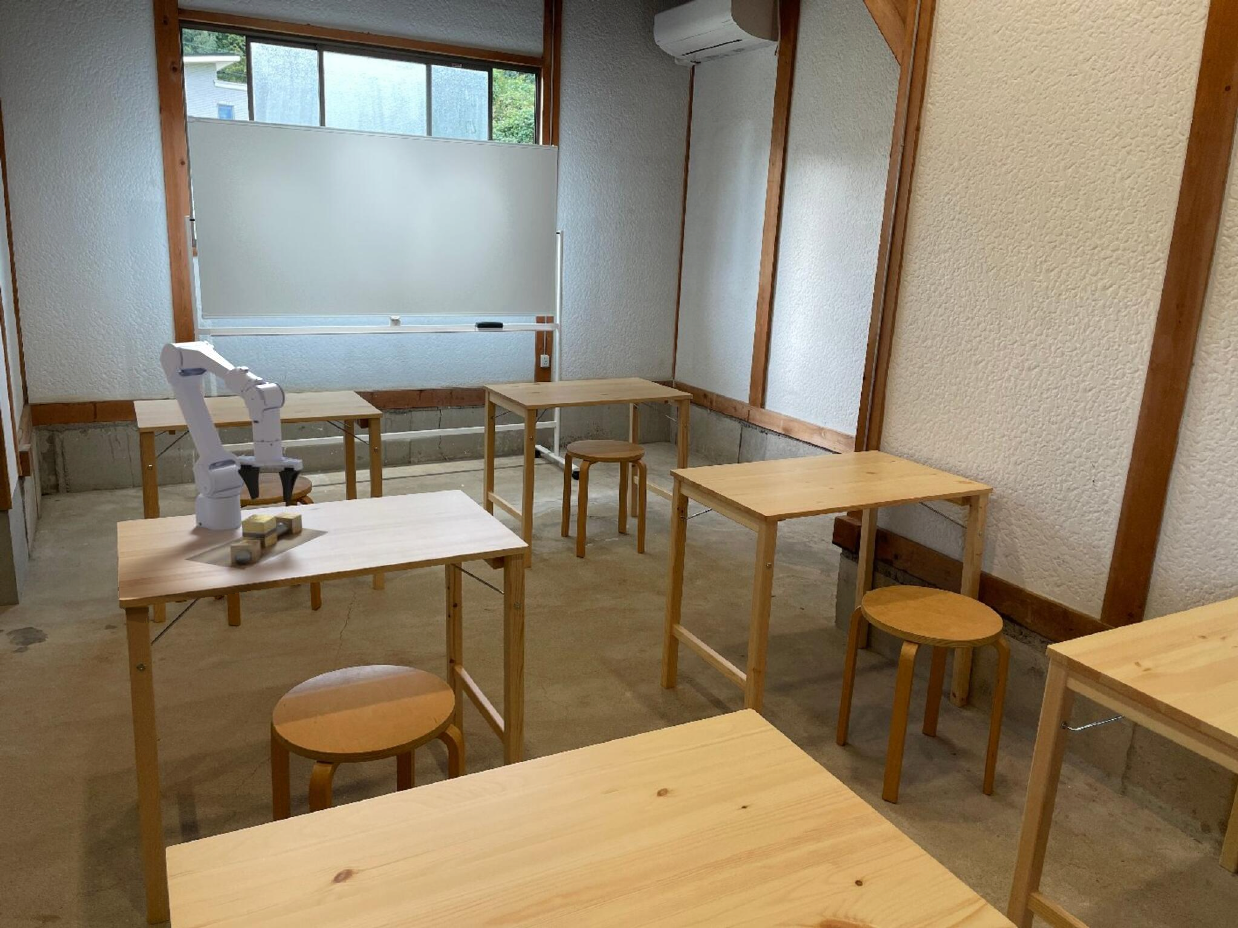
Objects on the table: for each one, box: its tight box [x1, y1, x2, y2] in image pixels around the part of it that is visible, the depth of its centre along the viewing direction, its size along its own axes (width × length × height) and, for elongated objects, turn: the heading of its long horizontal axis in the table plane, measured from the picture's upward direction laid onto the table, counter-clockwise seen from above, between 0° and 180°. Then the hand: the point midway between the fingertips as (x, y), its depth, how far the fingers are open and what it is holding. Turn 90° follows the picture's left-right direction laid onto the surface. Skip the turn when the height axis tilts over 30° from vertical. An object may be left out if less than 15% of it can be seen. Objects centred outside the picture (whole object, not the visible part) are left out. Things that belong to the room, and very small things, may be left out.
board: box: [184, 527, 329, 570], centre depth 192 cm, size 15×27×1 cm, turn 161°
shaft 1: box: [230, 538, 262, 565], centre depth 183 cm, size 9×5×4 cm, turn 6°
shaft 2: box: [275, 511, 303, 538], centre depth 199 cm, size 9×5×4 cm, turn 166°
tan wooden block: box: [241, 514, 277, 549], centre depth 191 cm, size 5×5×6 cm
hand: (271, 499), depth 195 cm, fingers open, 7 cm apart
